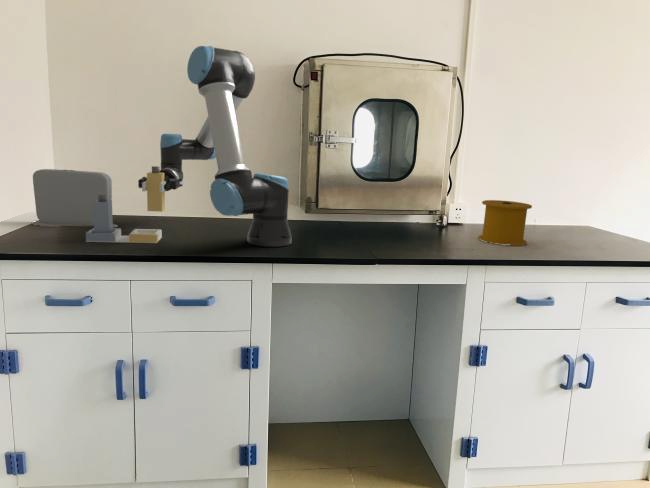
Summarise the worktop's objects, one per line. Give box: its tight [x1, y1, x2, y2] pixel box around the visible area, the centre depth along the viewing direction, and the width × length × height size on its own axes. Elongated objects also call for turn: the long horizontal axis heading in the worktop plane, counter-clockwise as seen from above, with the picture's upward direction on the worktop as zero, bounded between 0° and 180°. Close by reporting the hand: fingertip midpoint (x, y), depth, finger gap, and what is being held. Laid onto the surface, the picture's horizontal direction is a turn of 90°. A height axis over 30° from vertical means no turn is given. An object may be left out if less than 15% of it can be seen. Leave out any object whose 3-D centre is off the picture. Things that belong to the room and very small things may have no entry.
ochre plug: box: [146, 165, 166, 213], centre depth 168 cm, size 4×4×14 cm
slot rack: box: [85, 227, 163, 244], centre depth 169 cm, size 22×10×4 cm, turn 98°
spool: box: [477, 199, 533, 245], centre depth 201 cm, size 18×18×15 cm
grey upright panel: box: [31, 168, 119, 228], centre depth 189 cm, size 31×10×20 cm, turn 84°
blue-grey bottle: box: [93, 195, 114, 233], centre depth 167 cm, size 4×4×14 cm
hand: (152, 187), depth 163 cm, fingers closed on ochre plug, 4 cm apart
